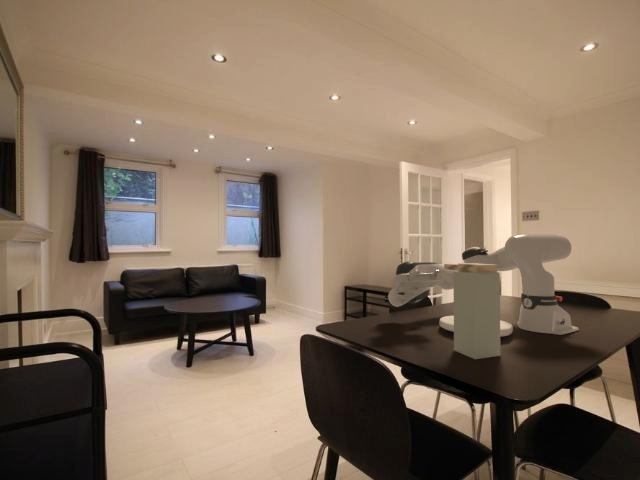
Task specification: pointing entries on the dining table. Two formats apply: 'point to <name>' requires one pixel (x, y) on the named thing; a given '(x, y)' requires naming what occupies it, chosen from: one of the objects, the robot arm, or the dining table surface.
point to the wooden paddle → (472, 267)
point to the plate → (448, 324)
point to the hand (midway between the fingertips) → (428, 271)
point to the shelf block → (477, 314)
